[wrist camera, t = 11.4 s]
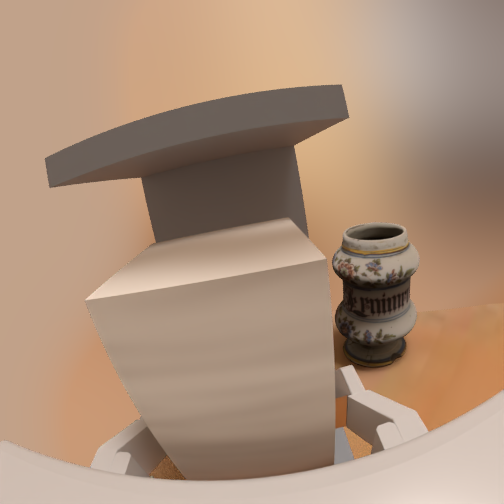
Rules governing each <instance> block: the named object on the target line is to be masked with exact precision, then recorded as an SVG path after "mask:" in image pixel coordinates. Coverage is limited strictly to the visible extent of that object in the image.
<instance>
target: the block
mask: <svg viewBox="0 0 504 504" xmlns="http://www.w3.org/2000/svg"><path fill="white" fill-rule="evenodd" d="M85 303H86V305H87V308H88V310H89V313H90V315H91V318H92V320H93V323H94V325H95V328H96V330H97V332H98V334H99V337H100V339H101V341H102V343H103V346H104V348H105V350H106V352H107V354H108V356H109V358H110V360H111V362H112V364H113V366H114V368H115V370H116V372H117V374H118V376H119V378H120V380H121V382H122V383H123V385H124V387H125V389H126V391H127V393H128V394H129V396H130V398H131V400H132V401H133V403H134V405H135V407H136V408H137V410H138V412H139V413H140V415H141V416H142V418H143V420H144V421H145V423H146V424H147V426H148V428H149V429H150V431H151V432H152V434H153V435H154V437H155V438H156V440H157V441H158V442H159V444H160V445H161V447H162V448H163V450H164V451H165V452H166V454H167V455H168V457H169V458H170V459H171V461H172V462H173V463H174V465H175V466H176V467H177V469H178V470H179V471H180V472H181V474H182V475H183V476H184V477H185V479H186V480H196V481H214V480H239V479H252V478H263V477H271V476H279V475H286V474H292V473H298V472H304V471H309V470H314V469H318V468H323V467H327V466H332V465H334V456H335V363H334V341H333V324H332V310H331V297H330V285H329V275H328V265H327V259H326V257H325V256H324V255H323V254H322V253H321V252H320V251H319V249H318V248H317V247H316V246H315V245H314V244H313V243H312V242H311V241H310V240H309V239H308V238H307V236H306V235H305V234H304V233H303V232H302V231H301V230H300V229H299V228H298V227H297V226H296V225H295V224H294V223H293V222H292V220H291V219H290V218H289V217H287V218H281V219H275V220H270V221H264V222H259V223H254V224H248V225H243V226H238V227H232V228H227V229H222V230H217V231H212V232H207V233H202V234H197V235H192V236H187V237H182V238H177V239H172V240H167V241H163V242H158V243H153V244H152V245H150V246H149V247H148V248H146V249H145V250H144V251H143V252H141V253H140V254H139V255H138V256H136V257H135V258H134V259H133V260H132V261H130V262H129V263H128V264H127V265H125V266H124V267H123V268H122V269H121V270H119V271H118V272H117V273H116V274H115V275H113V276H112V277H111V278H110V279H109V280H107V281H106V282H105V283H104V284H103V285H102V286H100V287H99V288H98V289H97V290H96V291H95V292H93V293H92V294H91V295H90V296H89V297H88V298H87V299H86V300H85Z"/></svg>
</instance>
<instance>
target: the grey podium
mask: <svg viewBox="0 0 504 504" xmlns="http://www.w3.org/2000/svg"><path fill="white" fill-rule="evenodd" d="M347 118H349V115H348V110H347V105H346V101H345V97H344V92H343V88H342V85H321V86H307V87H295V88H286V89H277V90H269V91H262V92H255V93H249V94H242V95H237V96H231V97H226V98H221V99H216V100H211V101H207V102H202V103H198V104H194V105H189V106H185V107H181V108H178V109H174V110H171V111H167V112H163V113H160V114H156V115H153V116H150V117H146V118H144V119H140V120H137V121H134V122H131V123H128V124H125V125H122V126H120V127H117V128H114V129H111V130H109V131H106V132H103V133H101V134H98V135H96V136H93V137H91V138H88V139H86V140H83V141H81V142H79V143H76V144H74V145H72V146H70V147H68V148H65V149H63V150H61V151H59V152H57V153H55V154H53V155H50V156H49V157H47V158H45V162H46V168H47V175H48V181H49V187H50V188H51V187H58V186H66V185H72V184H81V183H89V182H98V181H106V180H117V179H128V178H140V177H141V178H142V184H143V188H144V193H145V198H146V203H147V207H148V211H149V216H150V220H151V224H152V228H153V232H154V236H155V240H156V243H158V242H163V241H167V240H172V239H177V238H182V237H187V236H192V235H197V234H202V233H207V232H212V231H217V230H222V229H227V228H232V227H238V226H243V225H248V224H254V223H259V222H264V221H270V220H275V219H281V218H287V217H289V218H290V219H291V220H292V222H293V223H294V224H295V225H296V226H297V227H298V228H299V229H300V230H301V231H302V232H303V233H304V234H305V235H306V236H307V238H308V239H309V237H308V229H307V223H306V215H305V208H304V202H303V195H302V189H301V184H300V177H299V171H298V166H297V160H296V154H295V149H294V145H296V144H298V143H299V142H302V141H303V140H305V139H307V138H309V137H311V136H313V135H315V134H317V133H319V132H321V131H323V130H325V129H327V128H329V127H331V126H333V125H335V124H337V123H339V122H341V121H343V120H345V119H347ZM351 460H354V457H353V454H352V451H351V448H350V446H349V443H348V440H347V437H346V434H345V431H344V428H343V427H341V428H337V429H335V456H334V465H336V464H340V463H343V462H347V461H351Z"/></svg>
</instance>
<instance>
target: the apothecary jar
mask: <svg viewBox="0 0 504 504" xmlns="http://www.w3.org/2000/svg"><path fill="white" fill-rule="evenodd" d="M419 259H420V258H419V254H418V252H417V250H416V248H415V247H414V246H413V245H412V244H411V243H410V242H409V240H408V235H407V230H406V229H405V227H403V226H401V225H398V224H393V223H382V222H380V223H379V222H374V223H366V224H360V225H356V226H353V227H350V228H348V229H346V230H345V231H344V233H343V242H342V246H341V247H340V248H339V249H338V250H337V251H336V252H335V254H334V256H333V260H332V265H333V269H334V271H335V273H336V274H337V275H338V276H339V277H340V278H341V279H342V280H343V294H344V295H343V301H342V302H341V303H340V304H339V306H338V308H337V310H336V314H335V322H336V326H337V328H338V330H339V331H340V333H341V334H342V335H343V336H345V337H346V338H347V339H346V341H345V343H344V346H343V350H344V353H345V355H346V356H347V357H348V358H349V359H350V360H351V361H353V362H354V363H356V364H359V365H362V366H368V367H379V366H385V365H388V364H391V363H392V362H393V361H394V360H395V358H397V357H401V356H402V355H403V354H404V352H405V350H406V342H405V340H404V338H403V337H404V336H406V335H407V334H408V333H409V332H410V331H411V330H412V328H413V327H414V325H415V322H416V317H417V312H416V308H415V305H414V303H413V302H412V301H411V299H410V277H411V276H412V275H413V274H414V273H415V272H416V270H417V268H418V266H419V261H420V260H419Z"/></svg>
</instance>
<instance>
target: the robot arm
mask: <svg viewBox="0 0 504 504" xmlns="http://www.w3.org/2000/svg"><path fill="white" fill-rule="evenodd" d="M345 426H347V428H348V429H350V430H351V431H353V432H354V433H355V434H357V435H358V436H359V437H361V438H362V439H364V440H365V441H366V442H368V443H369V444H371V445H372V446H373V447H372V451H371V455H368V456H364V457H361V458H358V459H354V460H351V461H347V462H343V463H340V464H336V465H332V466H327V467H323V468H318V469H314V470H309V471H304V472H298V473H292V474H286V475H279V476H271V477H263V478H252V479H239V480H214V481H196V480H171V479H158V478H151V477H150V476H149V474H150V473H151V472H152V471H153V470H154V469H155V467H156V466H157V465H158V464H159V463H160V462H161V461H162V460H163V459H164V458H165V456H166V455H167V454H166V452H165V451H164V450H163V448H162V447H161V445H160V444H159V442H158V441H157V440H156V438H155V437H154V435H153V434H152V432H151V431H150V429H149V428H148V426H147V424H146V423H145V421H144V420H143V418H142V416H141V417H140V420H135V421H134V422H133V423H132V424H130V425H129V426H128V427H126V428H125V429H124V430H122V431H121V432H120V433H118V434H117V435H116V436H114V437H113V438H111V439H110V440H109V441H107V442H106V443H104V444H103V445H102V446H100V447H99V448H98V451H97V453H96V455H95V457H94V460H93V462H92V464H91V466H90V468H89V467H85V466H80V465H77V464H73V463H69V462H65V461H62V460H59V459H56V458H53V457H50V456H46V455H43V454H41V453H38V452H35V451H32V450H30V449H27V448H24V447H22V446H19V445H17V444H15V443H13V442H10V441H7V440H4V441H1V442H0V504H504V389H503V390H502V391H500V392H499V393H497V394H496V395H494V396H493V397H491V398H490V399H488V400H487V401H485V402H483V403H482V404H480V405H479V406H477V407H475V408H474V409H472V410H470V411H468V412H467V413H465V414H463V415H461V416H460V417H458V418H456V419H454V420H452V421H450V422H448V423H446V424H444V425H442V426H440V427H438V428H436V429H434V430H432V431H430V432H428V430H427V428H426V427H425V425H424V423H423V422H422V420H421V418H420V417H419V415H418V414H417V412H416V411H415V410H413V409H410V408H408V407H406V406H403V405H401V404H399V403H397V402H394V401H392V400H390V399H388V398H386V397H384V396H381V395H379V394H377V393H375V392H373V391H371V390H367V391H366V390H365V388H364V386H363V384H362V382H361V380H360V378H359V376H358V375H357V373H356V371H355V369H354V367H353V366H352V365H349V366H345V367H341V368H339V369H335V429H337V428H341V427H345Z"/></svg>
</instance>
